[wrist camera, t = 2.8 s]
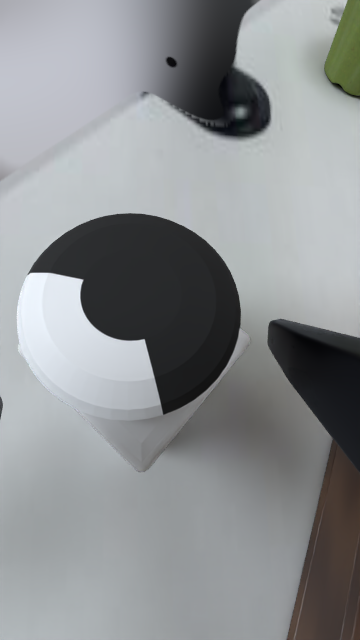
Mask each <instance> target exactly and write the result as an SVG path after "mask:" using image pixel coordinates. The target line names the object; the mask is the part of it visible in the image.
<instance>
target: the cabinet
mask: <svg viewBox="0 0 360 640" xmlns="http://www.w3.org/2000/svg"><path fill="white" fill-rule="evenodd" d="M287 640H360V473H359V472H358V470H357V469H356V468H355V467H354V465H353V464H352V463H351V461H350V460H349V459H348V457H347V456H346V455H345V453H344V452H343V451H342V450H341V448H340V447H339V446H338V444H337V443H336V442H335V440H334V439H333V442H332V446H331V450H330V455H329V459H328V463H327V468H326V472H325V476H324V481H323V485H322V490H321V494H320V498H319V503H318V507H317V511H316V516H315V520H314V524H313V529H312V533H311V537H310V542H309V546H308V550H307V555H306V559H305V564H304V568H303V572H302V577H301V581H300V585H299V590H298V594H297V598H296V603H295V607H294V611H293V616H292V620H291V624H290V629H289V633H288V638H287Z"/></svg>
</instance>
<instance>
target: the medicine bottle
mask: <svg viewBox="0 0 360 640" xmlns="http://www.w3.org/2000/svg"><path fill="white" fill-rule="evenodd" d="M240 320H241V309H240V301H239V295H238V291H237V288H236V284H235V282H234V279H233V277H232V275H231V272H230V270H229V269H228V267H227V266H226V264H225V262H224V261H223V259H222V258H221V257H220V256H219V254H218V253H217V252H216V251H215V249H214V248H213V247H211V246H210V245H209V244H208V243H207V242H206V241H205V240H204V239H202V238H201V237H200V236H198V235H197V234H196V233H194V232H193V231H191V230H189V229H187V228H186V227H184V226H182V225H179V224H177V223H175V222H172V221H170V220H167V219H164V218H160V217H157V216H151V215H146V214H132V213H129V214H115V215H109V216H104V217H100V218H97V219H93V220H90V221H88V222H86V223H83V224H81V225H79V226H77V227H75V228H73V229H72V230H70V231H68V232H66V233H65V234H64V235H62V236H61V237H60V238H58V239H57V240H56V241H54V242H53V243H52V244H51V245H50V246H49V247H48V248H47V249H46V250H45V251H44V252H43V253H42V254H41V255H40V257H39V258H38V259H37V261H36V262H35V263H34V265H33V266H32V268H31V270H30V271H29V273H28V275H27V277H26V279H25V282H24V284H23V287H22V289H21V293H20V297H19V301H18V308H17V330H18V337H19V341H20V344H19V345H18V351H19V353H20V354H21V356H22V357H23V358H24V359H25V360H26V361H27V363H28V365H29V367H30V368H31V370H32V371H33V373H34V374H35V376H36V378H37V379H38V380H39V381H40V382H41V383H42V384H43V385H44V387H45V388H46V389H47V390H48V391H49V392H51V393H52V394H53V395H54V396H56V397H57V398H58V399H59V400H61V401H62V402H64V403H66V404H67V405H69V406H71V407H73V408H74V409H75V410H76V411H77V412H78V413H79V414H80V415H81V416H82V417H83V418H84V419H85V420H86V421H87V422H88V423H89V424H90V425H91V426H92V427H93V428H94V429H95V430H96V431H97V432H98V433H99V434H100V435H101V436H102V437H103V438H104V439H105V440H106V441H107V442H108V443H109V444H110V445H111V446H112V447H113V448H114V449H115V450H116V451H117V452H118V453H119V454H120V455H121V456H122V457H123V458H124V459H125V460H126V461H127V462H128V463H129V464H130V465H131V466H132V467H133V468H134V469H135V470H136V471H138V472H145V471H146V470H148V469H149V468H150V467H151V466H152V464H153V463H154V462H155V461H156V459H157V458H158V457H159V456H160V454H161V453H162V452H163V451H164V450H165V448H166V447H167V446H168V445H169V443H170V442H171V441H172V440H173V438H174V437H175V436H176V435H177V433H178V432H179V431H180V430H181V429H182V427H183V426H184V425H185V424H186V422H187V421H188V420H189V419H190V417H191V416H192V415H193V414H194V412H195V411H196V410H197V409H198V408H199V406H200V405H201V404H202V403H203V401H204V400H205V399H206V398H207V396H208V395H209V394H210V393H211V391H212V390H213V389H214V388H215V386H216V385H217V384H218V383H219V382H220V380H221V379H222V378H223V377H224V375H225V374H226V373H227V372H228V370H229V369H230V368H231V367H232V365H233V364H234V363H235V362H236V361H237V359H238V358H239V357H240V356H241V354H242V353H243V352H244V351H245V349H246V348H247V347H248V346H249V343H250V337H249V335H248V334H247V333H246V332H245V331H243V330H242V329H241V328H240Z"/></svg>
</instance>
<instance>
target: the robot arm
mask: <svg viewBox="0 0 360 640" xmlns="http://www.w3.org/2000/svg"><path fill="white" fill-rule="evenodd" d="M268 346H269V349H270V350H271V352H272V354H273V355H274V357H275V359H276V360H277V362H278V364H279V365H280V367H281V369H282V370H283V372H284V373H285V375H286V377H287V378H288V380H289V381H290V383H291V384H292V385H293V387H294V388H295V389H296V391H297V392H298V393H299V395H300V396H301V397H302V399H303V400H304V401H305V403H306V404H307V405H308V406H309V408H310V409H311V410H312V412H313V413H314V414H315V416H316V417H317V418H318V420H319V421H320V422H321V423H322V425H323V426H324V427H325V429H326V430H327V431H328V433H329V434H330V435H331V436H332V438H333V439H334V440H335V442H336V443H337V444H338V446H339V447H340V448H341V450H342V451H343V452H344V453H345V455H346V456H347V457H348V459H349V460H350V461H351V463H352V464H353V465H354V467H355V468H356V469H357V470H358V472H359V473H360V338H357V337H353V336H349V335H345V334H341V333H337V332H333V331H329V330H325V329H321V328H317V327H313V326H308V325H304V324H300V323H296V322H292V321H288V320H284V319H277V320H273V321H271V322H270V323H269V326H268ZM2 408H3V403H2V399H1V397H0V418H1V413H2Z"/></svg>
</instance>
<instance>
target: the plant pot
mask: <svg viewBox="0 0 360 640" xmlns="http://www.w3.org/2000/svg"><path fill="white" fill-rule="evenodd" d="M324 69H325V73H326V75H327V77H328V78H329V80H330V81H331V82H332V83H338V84H340V85H341V86H342V88H343V90H344V91H346V92H347V93H349V94H352V95H358V96H360V0H348V1H347V4H346V7H345V9H344V12H343V15H342V18H341V20H340V23H339V26H338V29H337V32H336V34H335V37H334V40H333V43H332V45H331V48H330V51H329V54H328V57H327V59H326V62H325V68H324Z"/></svg>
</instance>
